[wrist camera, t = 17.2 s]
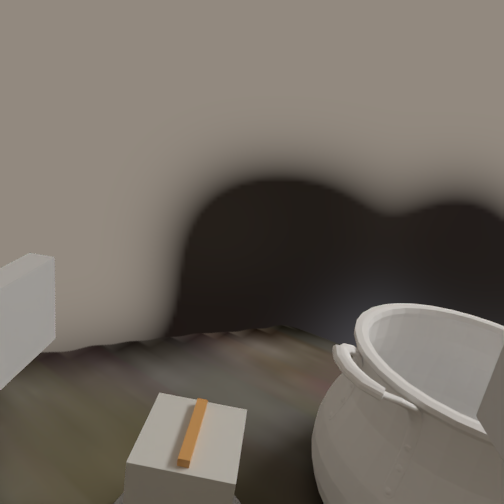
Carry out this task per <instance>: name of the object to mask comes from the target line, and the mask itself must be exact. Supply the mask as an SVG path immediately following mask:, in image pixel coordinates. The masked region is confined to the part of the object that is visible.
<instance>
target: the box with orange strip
mask: <svg viewBox="0 0 504 504" xmlns="http://www.w3.org/2000/svg"><path fill="white" fill-rule="evenodd" d="M246 414H247V410H245V409H240V408H235V407H230V406H225V405H220V404H215V403H209V402H208V400H205V399H200V398H198V399H197V400H194V399H189V398H184V397H179V396H174V395H169V394H164V393H159V395H158V397H157V399H156V401H155V403H154V406H153V408H152V410H151V412H150V414H149V416H148V418H147V420H146V422H145V424H144V426H143V428H142V431H141V433H140V435H139V437H138V439H137V441H136V443H135V445H134V447H133V449H132V451H131V454H130V456H129V458H128V460H127V462H126V472H125V484H124V496H123V504H232V502H233V497H234V492H235V487H236V481H237V474H238V467H239V461H240V454H241V448H242V441H243V434H244V428H245V421H246Z"/></svg>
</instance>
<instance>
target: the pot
mask: <svg viewBox="0 0 504 504" xmlns="http://www.w3.org/2000/svg"><path fill="white" fill-rule="evenodd" d="M354 336H355V340H356V344H357V349H356V347H355V346H353V345H349V344H345V343H343V344H341V345H334V346H333V348H332V350H333V358H334V361H335V363H336V364H337V366H338V367H339V369H340V370H341V372H342V374H341V375H340V376H339V377H338V378H337V379H336V380H335V381H334V383H333V384H332V386H331V387H330V388H329V390H328V391H327V393H326V395H325V397H324V399H323V401H322V403H321V404H320V406H319V409H318V413H317V416H316V420H315V424H314V429H313V434H312V463H313V470H314V475H315V479H316V483H317V487H318V491H319V494H320V496H321V498H322V501H323V503H324V504H504V462H503V460H502V458H501V457H500V455H499V453H498V452H497V450H496V448H495V447H494V445H493V443H492V442H491V440H490V438H489V437H488V435H487V433H486V432H485V430H484V428H483V427H482V425H481V423H480V422H479V420H478V418H477V417H476V414H477V412H478V409H479V406H480V404H481V401H482V399H483V396H484V394H485V391H486V388H487V386H488V383H489V381H490V378H491V376H492V373H493V371H494V368H495V365H496V363H497V360H498V358H499V355H500V353H501V350H502V348H503V345H504V326H502V325H499V324H496V323H494V322H491V321H488V320H485V319H482V318H479V317H476V316H473V315H469V314H465V313H462V312H458V311H454V310H450V309H445V308H440V307H435V306H428V305H420V304H403V303H396V304H384V305H380V306H376V307H372V308H371V309H369V310H367V311H365V312H363V313H362V314H361V316H360V317H359V318H358V319H357V322H356V326H355V330H354ZM350 354H351V355H353V356H354V357H353V359H352V358H351V356H350Z"/></svg>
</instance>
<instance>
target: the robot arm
mask: <svg viewBox="0 0 504 504" xmlns="http://www.w3.org/2000/svg"><path fill="white" fill-rule="evenodd" d="M54 339H55V257H51V256H46V255H39V254H33V253H28V254H26V255H24V256H23V257H21V258H19V259H17V260H15V261H13V262H11V263H9V264H7V265H5V266H3V267H1V268H0V390H1V389H2V388H3V387H4V386H5V385H6V384H7V383H8V382H10V381H11V380H12V379H13V378H14V377H15V376H16V375H17V374H18V373H19V372H20V371H21V370H22V369H23V368H24V367H26V366H27V365H28V364H29V363H30V362H31V361H32V360H33V359H34V358H35V357H36V356H37V355H38V354H39V353H41V352H42V351H43V350H44V349H45V348H46V347H47V346H48V345H49V344H50V343H51V342H52V341H53V340H54ZM476 417H477V418H478V420H479V422H480V423H481V425H482V427H483V428H484V430H485V432H486V433H487V435H488V437H489V438H490V440H491V442H492V443H493V445H494V447H495V448H496V450H497V452H498V453H499V455H500V457H501V458H502V460H503V462H504V345H503V348H502V350H501V353H500V355H499V358H498V360H497V363H496V365H495V368H494V371H493V373H492V376H491V378H490V381H489V383H488V386H487V388H486V391H485V394H484V396H483V399H482V401H481V404H480V406H479V409H478V412H477V414H476Z"/></svg>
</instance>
